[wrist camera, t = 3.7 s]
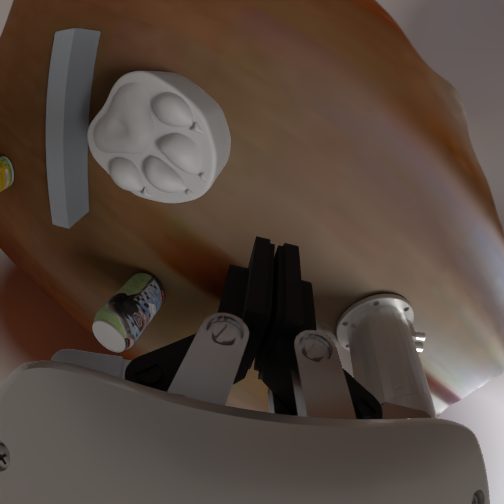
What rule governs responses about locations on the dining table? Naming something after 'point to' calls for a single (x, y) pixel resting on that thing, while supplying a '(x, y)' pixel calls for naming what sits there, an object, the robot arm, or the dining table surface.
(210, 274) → the dining table surface
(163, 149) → the lumpy-topped squat cylinder
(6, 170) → the supplement bottle
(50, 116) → the grey long bar
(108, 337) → the beverage can
